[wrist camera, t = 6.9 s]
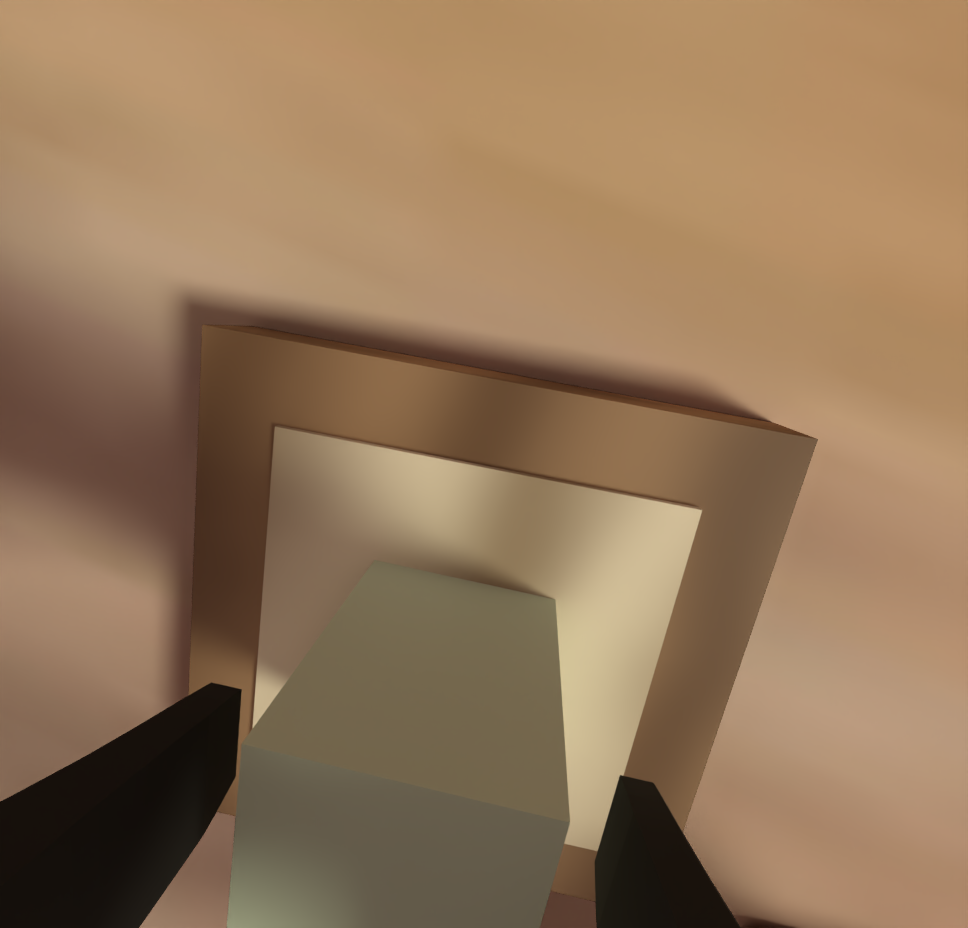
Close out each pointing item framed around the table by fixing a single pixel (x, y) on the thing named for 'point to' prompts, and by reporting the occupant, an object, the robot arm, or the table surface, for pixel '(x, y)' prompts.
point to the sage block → (408, 765)
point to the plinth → (490, 537)
